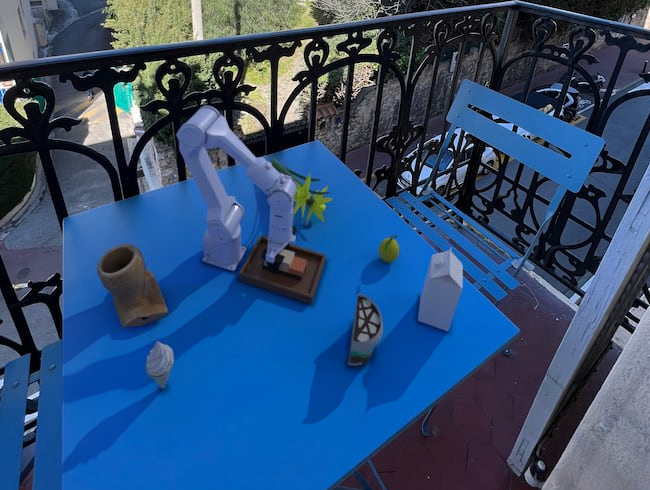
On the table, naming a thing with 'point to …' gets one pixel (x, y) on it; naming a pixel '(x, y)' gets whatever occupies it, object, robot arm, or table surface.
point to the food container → (364, 331)
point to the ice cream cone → (160, 363)
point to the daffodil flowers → (305, 193)
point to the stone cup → (131, 286)
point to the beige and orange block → (290, 265)
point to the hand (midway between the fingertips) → (278, 260)
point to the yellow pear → (389, 249)
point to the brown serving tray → (282, 283)
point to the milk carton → (441, 290)
